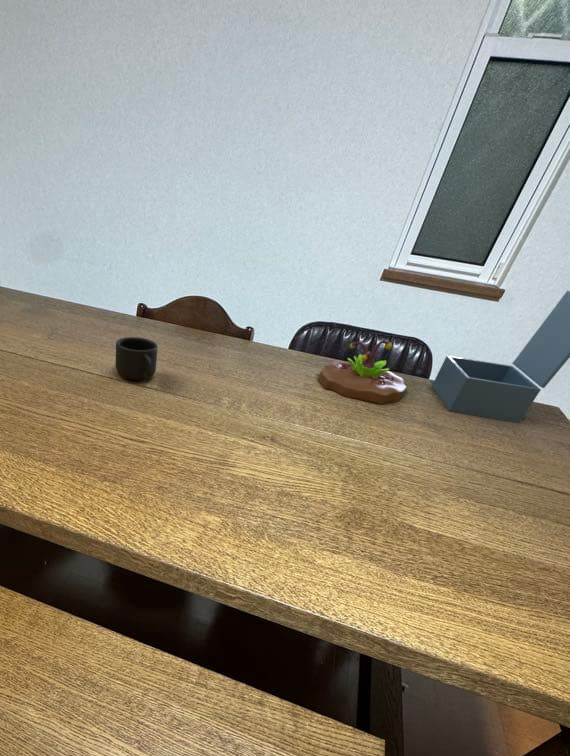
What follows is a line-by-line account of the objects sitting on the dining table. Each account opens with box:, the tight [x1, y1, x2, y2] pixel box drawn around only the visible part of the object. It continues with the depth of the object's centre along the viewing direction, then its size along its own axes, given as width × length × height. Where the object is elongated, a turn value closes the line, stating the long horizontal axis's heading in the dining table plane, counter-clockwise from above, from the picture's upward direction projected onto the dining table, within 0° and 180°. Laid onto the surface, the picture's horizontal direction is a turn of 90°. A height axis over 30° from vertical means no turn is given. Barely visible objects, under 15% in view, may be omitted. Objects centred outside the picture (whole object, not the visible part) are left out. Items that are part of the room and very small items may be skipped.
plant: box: [318, 339, 408, 405], centre depth 107 cm, size 20×20×11 cm
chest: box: [431, 355, 542, 423], centre depth 107 cm, size 16×16×8 cm
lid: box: [511, 290, 570, 389], centre depth 98 cm, size 16×16×5 cm
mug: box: [114, 336, 159, 382], centre depth 98 cm, size 12×9×7 cm
